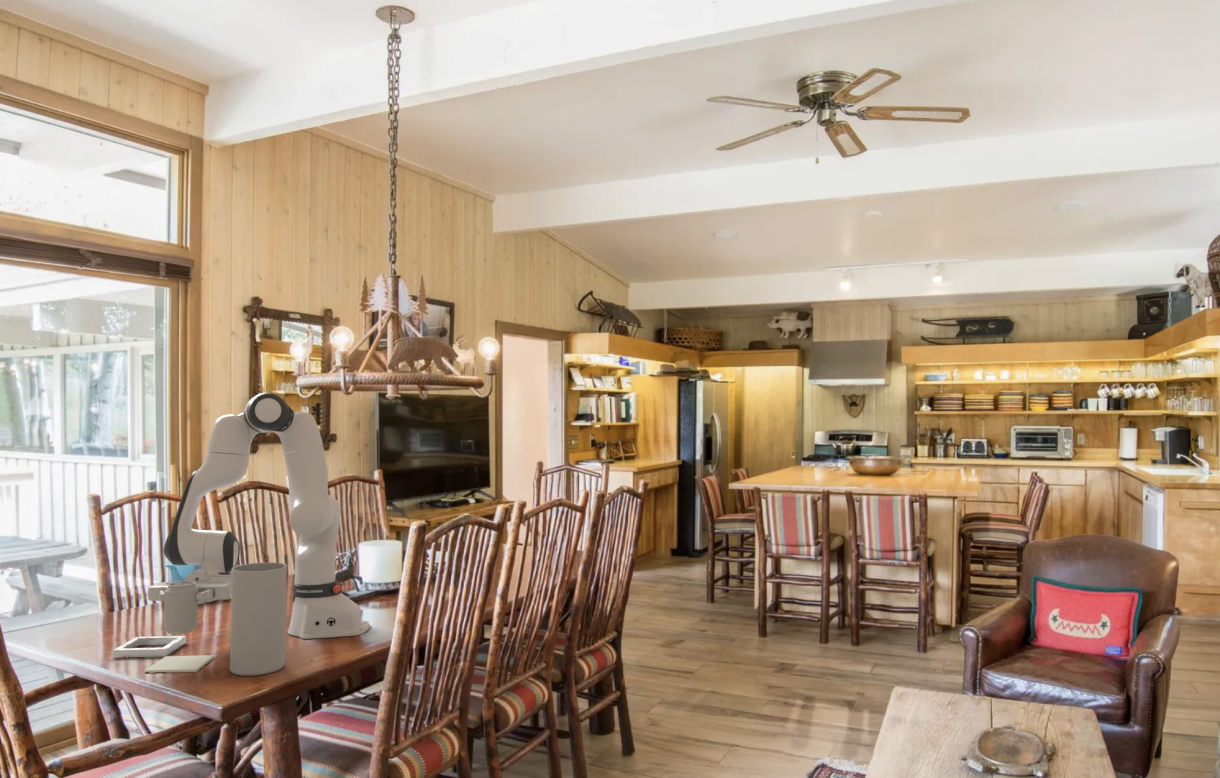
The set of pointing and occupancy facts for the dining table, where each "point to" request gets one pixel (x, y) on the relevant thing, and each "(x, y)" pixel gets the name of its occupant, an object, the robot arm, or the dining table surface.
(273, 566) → the cylinder vase
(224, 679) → the dining table surface
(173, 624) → the can
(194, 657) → the tile
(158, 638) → the square picture frame
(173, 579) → the teakettle
